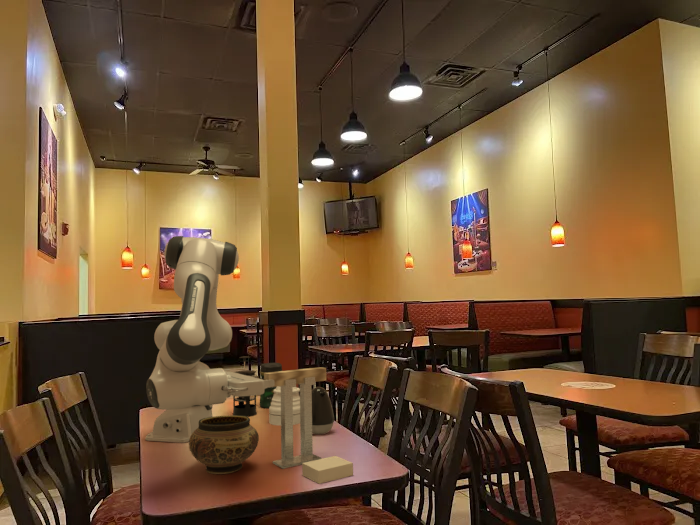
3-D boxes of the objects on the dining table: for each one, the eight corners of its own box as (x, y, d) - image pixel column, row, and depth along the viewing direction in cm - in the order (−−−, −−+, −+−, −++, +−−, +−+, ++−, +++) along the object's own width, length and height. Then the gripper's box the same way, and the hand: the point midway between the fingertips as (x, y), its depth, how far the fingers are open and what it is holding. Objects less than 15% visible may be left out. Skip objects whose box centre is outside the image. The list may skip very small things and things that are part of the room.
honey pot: (310, 421, 191) (309, 372, 192) (279, 427, 183) (279, 375, 184) (292, 416, 201) (291, 369, 202) (262, 421, 193) (262, 372, 195)
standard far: (302, 464, 139) (301, 378, 141) (292, 459, 144) (290, 376, 146) (321, 460, 142) (320, 376, 144) (310, 455, 147) (309, 374, 149)
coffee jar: (262, 409, 216) (262, 364, 218) (258, 406, 223) (257, 362, 225) (285, 406, 220) (284, 362, 222) (279, 403, 227) (279, 361, 229)
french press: (260, 415, 203) (259, 356, 205) (236, 418, 199) (236, 358, 201) (251, 410, 214) (251, 354, 216) (229, 413, 210) (229, 356, 212)
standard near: (282, 468, 136) (281, 381, 138) (272, 463, 141) (271, 378, 142) (302, 464, 139) (301, 378, 141) (292, 459, 144) (290, 376, 146)
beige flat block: (318, 483, 123) (318, 470, 124) (302, 475, 130) (302, 463, 130) (353, 475, 129) (352, 462, 129) (335, 467, 136) (335, 455, 136)
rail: (268, 387, 137) (268, 373, 137) (264, 386, 139) (263, 372, 140) (326, 380, 147) (326, 368, 147) (320, 379, 150) (320, 367, 150)
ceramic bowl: (260, 489, 128) (274, 428, 131) (189, 482, 121) (205, 417, 124) (238, 464, 150) (251, 411, 153) (177, 456, 143) (191, 402, 146)
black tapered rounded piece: (311, 438, 167) (310, 390, 168) (299, 431, 176) (298, 386, 177) (339, 433, 171) (338, 387, 173) (326, 427, 181) (325, 383, 182)
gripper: (230, 377, 122) (283, 372, 130) (202, 370, 139) (250, 365, 147) (230, 405, 122) (283, 397, 129) (202, 393, 138) (250, 388, 146)
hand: (265, 380), depth 138 cm, fingers open, 8 cm apart
